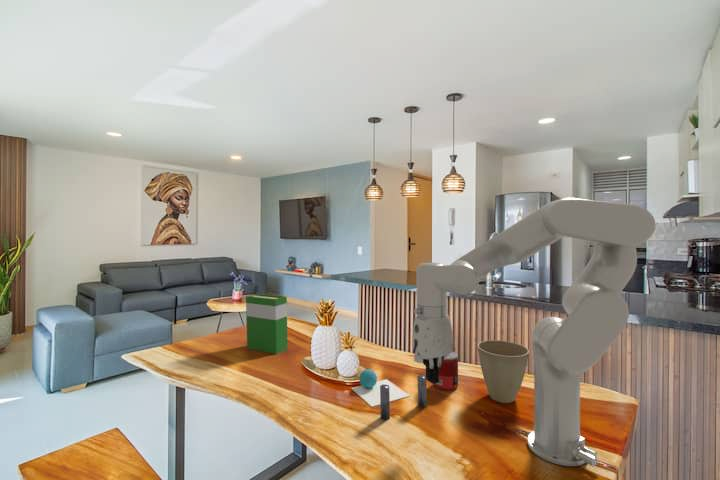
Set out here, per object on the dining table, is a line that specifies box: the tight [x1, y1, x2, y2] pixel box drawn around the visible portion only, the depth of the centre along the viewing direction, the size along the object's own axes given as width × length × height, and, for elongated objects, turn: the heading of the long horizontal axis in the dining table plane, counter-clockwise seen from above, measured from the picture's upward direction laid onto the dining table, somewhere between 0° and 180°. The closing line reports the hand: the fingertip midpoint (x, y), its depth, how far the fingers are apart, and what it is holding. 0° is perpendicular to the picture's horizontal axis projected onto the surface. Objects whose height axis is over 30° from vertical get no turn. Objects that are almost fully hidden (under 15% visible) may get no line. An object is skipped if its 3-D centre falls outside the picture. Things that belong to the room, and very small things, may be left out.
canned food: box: [434, 351, 459, 392], centre depth 117 cm, size 8×8×11 cm
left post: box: [379, 384, 391, 421], centre depth 98 cm, size 3×3×9 cm
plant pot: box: [477, 339, 530, 404], centre depth 109 cm, size 15×15×16 cm
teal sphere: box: [358, 368, 378, 388], centre depth 117 cm, size 6×6×6 cm
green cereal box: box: [245, 293, 289, 355], centre depth 158 cm, size 18×7×24 cm, turn 62°
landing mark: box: [351, 379, 411, 408], centre depth 114 cm, size 14×14×1 cm
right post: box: [417, 374, 428, 409], centre depth 104 cm, size 3×3×9 cm
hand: (432, 381), depth 89 cm, fingers closed
